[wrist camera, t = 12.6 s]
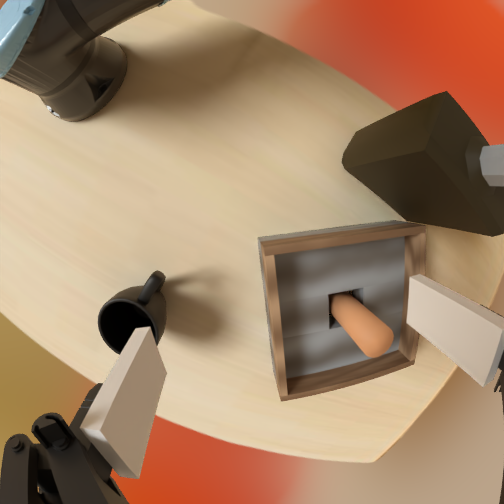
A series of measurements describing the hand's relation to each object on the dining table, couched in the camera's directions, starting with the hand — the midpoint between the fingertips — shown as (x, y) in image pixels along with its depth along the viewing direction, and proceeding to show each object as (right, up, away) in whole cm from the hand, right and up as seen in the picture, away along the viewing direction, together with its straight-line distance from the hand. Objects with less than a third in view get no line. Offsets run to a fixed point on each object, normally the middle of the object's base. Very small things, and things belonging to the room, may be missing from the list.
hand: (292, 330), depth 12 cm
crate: (+11, -4, +28) cm, 30 cm away
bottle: (+19, +15, +25) cm, 35 cm away
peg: (+11, -4, +28) cm, 30 cm away
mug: (-16, -2, +26) cm, 31 cm away
